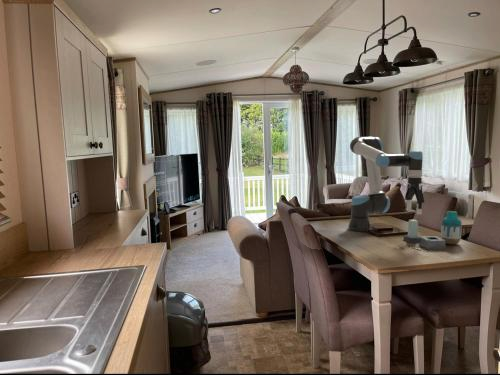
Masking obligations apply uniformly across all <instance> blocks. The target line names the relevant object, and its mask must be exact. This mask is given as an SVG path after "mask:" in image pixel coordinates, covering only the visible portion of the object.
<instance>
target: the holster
mask: <svg viewBox="0 0 500 375" xmlns="http://www.w3.org/2000/svg"><path fill="white" fill-rule="evenodd" d="M419 238H420V236H418V235H417V238H409V237H408V234H405V235H403V240H404V241H405V242H408V243H410V244H411V243H418V244H419Z"/></svg>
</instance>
